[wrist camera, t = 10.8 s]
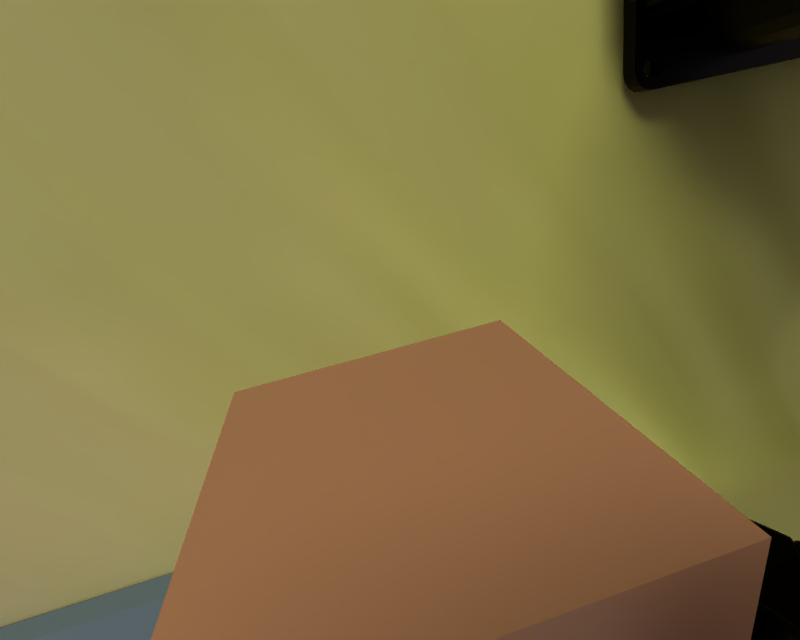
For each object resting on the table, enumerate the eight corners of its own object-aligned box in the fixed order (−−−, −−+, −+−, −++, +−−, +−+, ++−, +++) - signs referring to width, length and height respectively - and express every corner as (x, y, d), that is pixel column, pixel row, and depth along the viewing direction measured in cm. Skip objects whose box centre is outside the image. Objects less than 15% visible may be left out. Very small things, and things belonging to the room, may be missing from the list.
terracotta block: (500, 320, 8) (771, 536, 3) (522, 513, 10) (713, 824, 5) (234, 392, 7) (103, 782, 3) (312, 582, 9) (314, 1003, 5)
